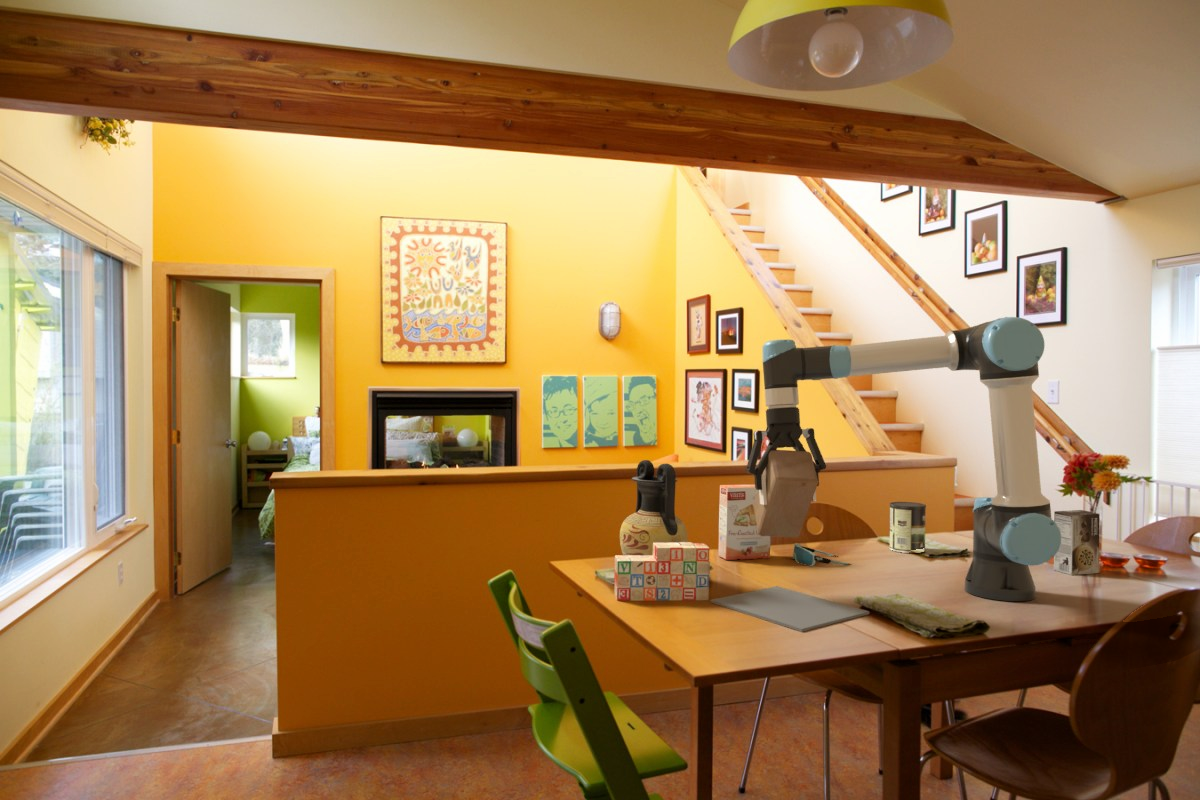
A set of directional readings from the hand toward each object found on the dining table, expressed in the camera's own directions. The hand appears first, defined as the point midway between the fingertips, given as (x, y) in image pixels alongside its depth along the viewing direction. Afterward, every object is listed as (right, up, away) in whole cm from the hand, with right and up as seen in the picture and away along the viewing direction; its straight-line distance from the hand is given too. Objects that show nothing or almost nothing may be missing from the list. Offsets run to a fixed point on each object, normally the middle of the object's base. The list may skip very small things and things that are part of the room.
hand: (788, 502), depth 180 cm
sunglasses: (+19, -23, +42) cm, 51 cm away
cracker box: (-2, -22, +45) cm, 50 cm away
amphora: (-30, -22, +18) cm, 41 cm away
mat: (-2, -22, -6) cm, 23 cm away
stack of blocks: (-29, -23, +2) cm, 37 cm away
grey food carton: (+85, -23, +31) cm, 93 cm away
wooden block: (-1, -6, +9) cm, 11 cm away
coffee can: (+50, -22, +58) cm, 79 cm away
